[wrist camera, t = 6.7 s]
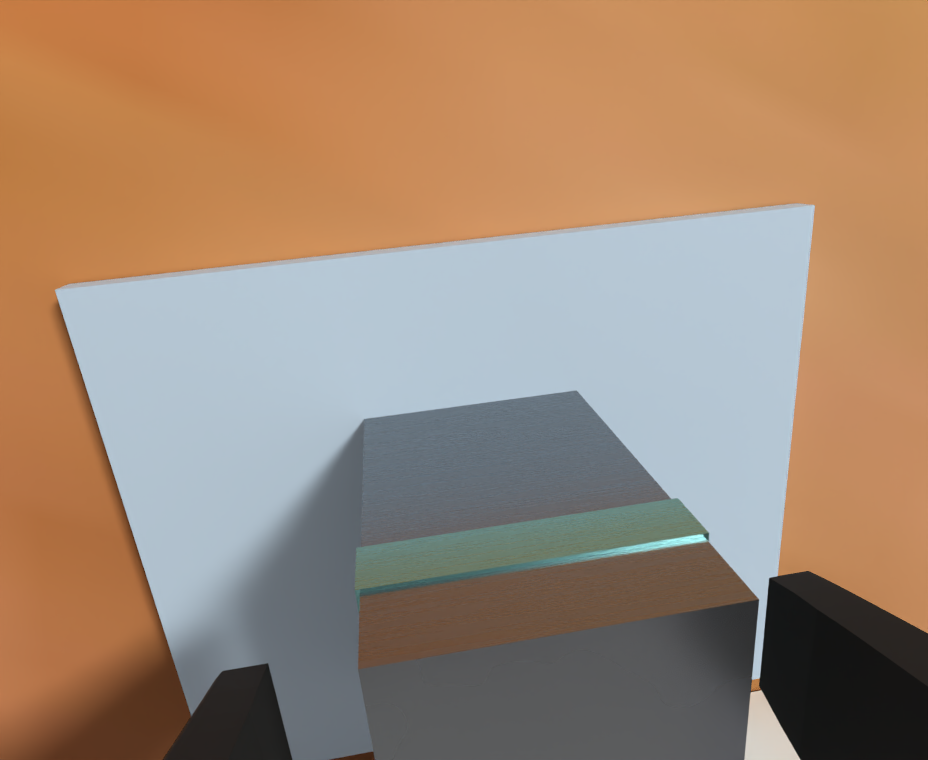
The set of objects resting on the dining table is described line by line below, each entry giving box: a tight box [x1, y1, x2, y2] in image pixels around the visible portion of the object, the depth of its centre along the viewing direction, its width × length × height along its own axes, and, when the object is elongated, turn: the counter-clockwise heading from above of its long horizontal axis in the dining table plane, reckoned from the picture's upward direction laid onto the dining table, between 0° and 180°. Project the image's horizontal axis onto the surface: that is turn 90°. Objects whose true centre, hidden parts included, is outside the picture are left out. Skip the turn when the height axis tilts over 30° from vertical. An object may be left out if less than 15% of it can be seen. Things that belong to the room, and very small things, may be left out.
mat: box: [55, 203, 815, 760], centre depth 13 cm, size 13×11×1 cm
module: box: [355, 390, 759, 760], centre depth 10 cm, size 4×6×6 cm
